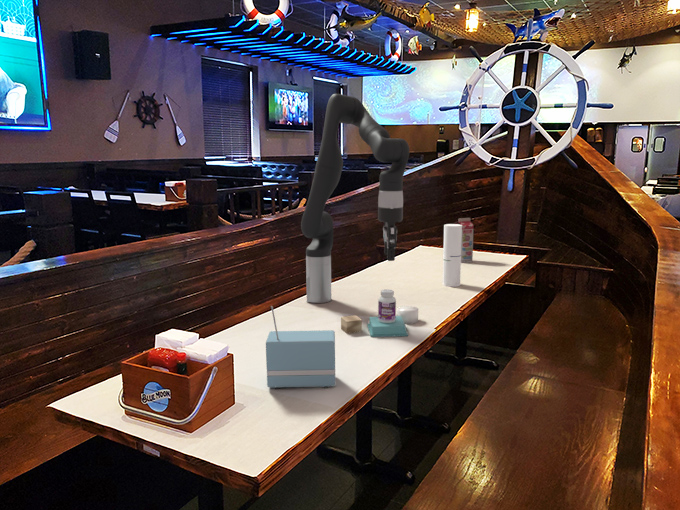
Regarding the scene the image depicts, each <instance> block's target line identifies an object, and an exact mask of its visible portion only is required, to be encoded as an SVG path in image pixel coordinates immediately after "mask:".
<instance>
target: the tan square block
mask: <svg viewBox="0 0 680 510" xmlns="http://www.w3.org/2000/svg"><path fill="white" fill-rule="evenodd" d="M362 321H363V320H362V319H361V318H360V317H359V316H357V315H349V316H340V329H341V330H342V331H343V332H344V333H345V334H347V335H348V334H354V333H355V334H356V333H362V332H363V328H362V327H363V326H362V325H363V322H362Z"/></svg>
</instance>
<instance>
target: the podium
mask: <svg viewBox="0 0 680 510" xmlns="http://www.w3.org/2000/svg"><path fill="white" fill-rule="evenodd" d="M368 322H369V323H367V329H368V332H369V336H370V338H383V337H385V338H387V337H388V338H389V337H408V336H409V334H408V332H407V329H406V328H407V326H406V323H404V322H403V320H402V318H401V316H397V315H396V319H395V322H393V323H381V322H379V320H378V316H369V321H368Z"/></svg>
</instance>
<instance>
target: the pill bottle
mask: <svg viewBox="0 0 680 510" xmlns="http://www.w3.org/2000/svg"><path fill="white" fill-rule="evenodd" d="M394 293H395V292H394V289H393V290H392V289H388V288H387V289H381V290H380V296H379V298H378V299H377V300H378V301H377V302H378V303H377V304H378V310H377V311H378V312H377V314H378V315H377V317H378V320H379V322H381V323H393V322H395V319H396V316H397V308H396V307H397V299H396V297H395V296H394V295H395V294H394Z"/></svg>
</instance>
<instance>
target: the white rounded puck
mask: <svg viewBox="0 0 680 510" xmlns="http://www.w3.org/2000/svg"><path fill="white" fill-rule="evenodd" d="M396 316H401V318H402V320H403V322H404V324H405V325H406V324H407V325H410V324H415V323H418V322H419V308H418V307H416V306H412V305H402V306H399V307H397V308H396Z"/></svg>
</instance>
